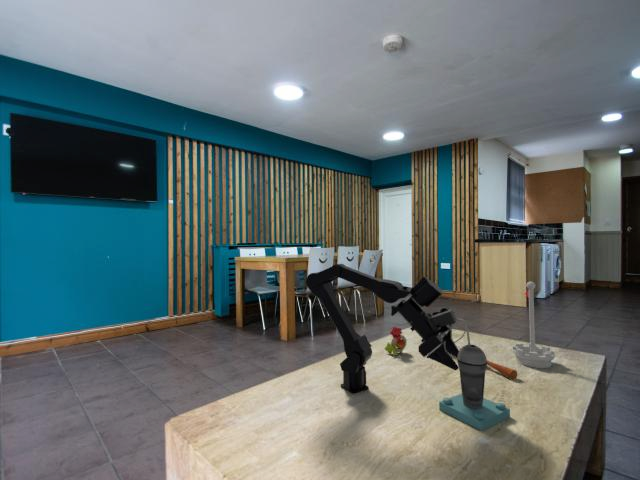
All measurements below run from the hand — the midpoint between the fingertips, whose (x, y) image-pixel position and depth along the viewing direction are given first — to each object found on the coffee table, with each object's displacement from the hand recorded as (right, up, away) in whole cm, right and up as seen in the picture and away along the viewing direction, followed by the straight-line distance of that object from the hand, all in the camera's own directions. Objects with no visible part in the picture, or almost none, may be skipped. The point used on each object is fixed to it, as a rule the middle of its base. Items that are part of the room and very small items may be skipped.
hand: (459, 363), depth 87 cm
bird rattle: (-6, -14, +46) cm, 49 cm away
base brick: (+3, -12, -2) cm, 13 cm away
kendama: (+22, -13, +28) cm, 38 cm away
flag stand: (+42, -13, +34) cm, 56 cm away
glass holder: (+17, -14, +49) cm, 54 cm away
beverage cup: (+3, -10, -2) cm, 11 cm away
